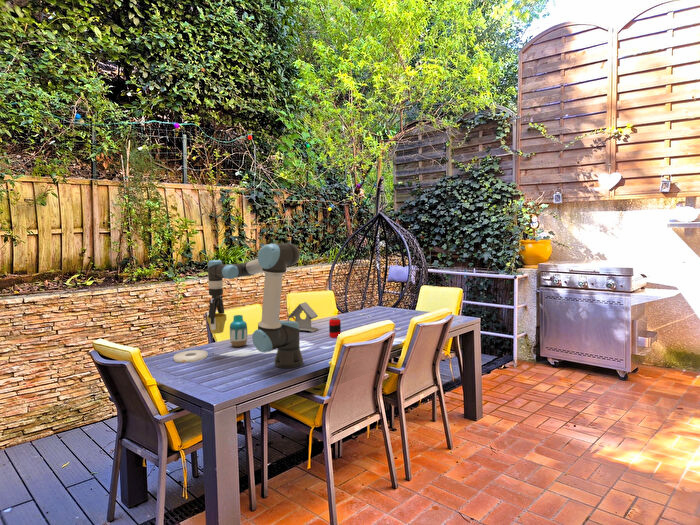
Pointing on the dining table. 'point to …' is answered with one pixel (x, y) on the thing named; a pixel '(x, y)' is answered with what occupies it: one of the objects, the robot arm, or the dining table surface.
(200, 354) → the base
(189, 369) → the dining table surface
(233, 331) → the vase
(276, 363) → the robot arm
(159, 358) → the dining table surface
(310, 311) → the wooden nesting box
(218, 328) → the plant pot
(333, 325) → the soda can
